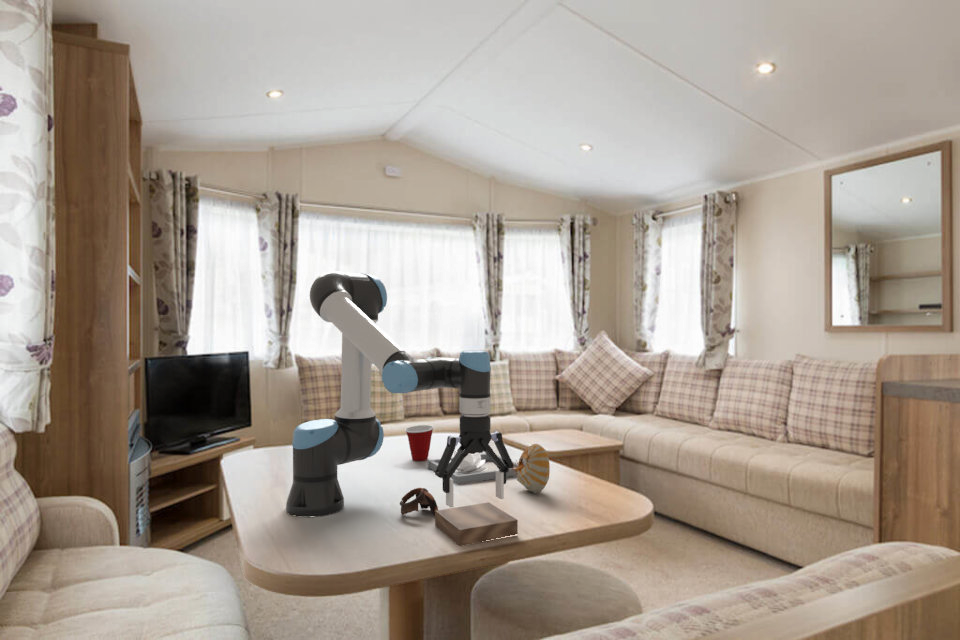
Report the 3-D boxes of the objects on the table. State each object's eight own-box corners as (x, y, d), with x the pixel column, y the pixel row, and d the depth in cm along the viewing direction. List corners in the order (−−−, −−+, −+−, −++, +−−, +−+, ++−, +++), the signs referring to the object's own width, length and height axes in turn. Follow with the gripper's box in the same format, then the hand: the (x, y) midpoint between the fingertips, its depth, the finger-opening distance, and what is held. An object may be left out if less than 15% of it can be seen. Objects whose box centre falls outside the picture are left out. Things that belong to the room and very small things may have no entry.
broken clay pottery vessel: (440, 523, 151) (425, 496, 149) (408, 537, 152) (392, 512, 150) (444, 498, 162) (429, 474, 161) (414, 512, 164) (399, 488, 162)
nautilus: (523, 480, 191) (523, 433, 191) (559, 498, 171) (558, 446, 171) (501, 482, 187) (501, 435, 187) (535, 501, 168) (535, 449, 168)
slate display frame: (457, 484, 186) (457, 476, 186) (428, 467, 207) (428, 460, 207) (526, 474, 197) (526, 467, 197) (491, 459, 219) (491, 452, 219)
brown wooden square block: (459, 552, 133) (459, 530, 133) (435, 530, 146) (435, 510, 146) (517, 540, 139) (517, 519, 139) (488, 521, 153) (488, 502, 153)
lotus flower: (435, 475, 197) (435, 449, 197) (464, 467, 208) (464, 442, 208) (467, 483, 188) (467, 455, 188) (496, 473, 199) (496, 447, 199)
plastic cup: (400, 457, 222) (400, 426, 222) (427, 454, 227) (427, 423, 227) (410, 464, 212) (410, 430, 212) (438, 460, 217) (438, 428, 217)
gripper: (433, 420, 134) (433, 514, 134) (526, 412, 145) (527, 498, 145) (421, 416, 140) (421, 504, 140) (511, 408, 152) (511, 490, 152)
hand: (475, 501), depth 143 cm, fingers open, 13 cm apart
